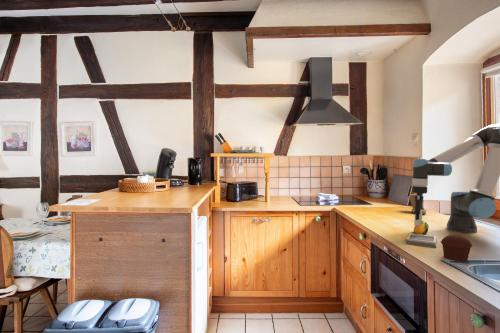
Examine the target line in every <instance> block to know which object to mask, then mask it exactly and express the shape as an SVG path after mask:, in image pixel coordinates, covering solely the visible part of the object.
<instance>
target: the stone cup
mask: <svg viewBox="0 0 500 333" xmlns="http://www.w3.org/2000/svg"><path fill="white" fill-rule="evenodd" d="M416 195H417V193H411V194H409V195H408V197H409V201H410V204H411V206H412V208H411V212H412V213H413V212H415V196H416ZM423 205H424V201H423V202H422V206H423ZM425 214H427V210H426V209H425V208H424V210H422V215H425Z"/></svg>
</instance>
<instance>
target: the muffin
mask: <svg viewBox="0 0 500 333" xmlns="http://www.w3.org/2000/svg"><path fill="white" fill-rule="evenodd" d="M440 243H441V244H442V245H441V246H442V251H443V258H445V259H446V260H448V261H452V260H454V261H453V262H457V261H460V262H459V263H464V262H468V261H469V256H470V253H471V248H472V247H473V244H472V242H471V241H470V240H469V239H467V238H466V237H465V236H463V235H462V236H461V235H457V234H449V235H446V236H444V237H443V238H442V239H441V241H440Z"/></svg>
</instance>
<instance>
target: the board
mask: <svg viewBox="0 0 500 333" xmlns="http://www.w3.org/2000/svg"><path fill="white" fill-rule="evenodd" d="M405 244H408V245H414V246H420V247H425V248H427V247H428V248H433V249H434V248H437V236H435V235H427V234H426V235H424V234H421V235H420V234H415V233H412V232H411V233H410V232H409V233H408V236H407V237H406V240H405Z"/></svg>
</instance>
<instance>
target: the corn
mask: <svg viewBox="0 0 500 333" xmlns="http://www.w3.org/2000/svg"><path fill="white" fill-rule="evenodd" d="M429 228H430V227H429V224H428V222H426V221H425V222H424V220H422V221H421V220H420V226H417V225H414V227H413V234H420V235H427V234H428V232H429Z"/></svg>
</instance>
